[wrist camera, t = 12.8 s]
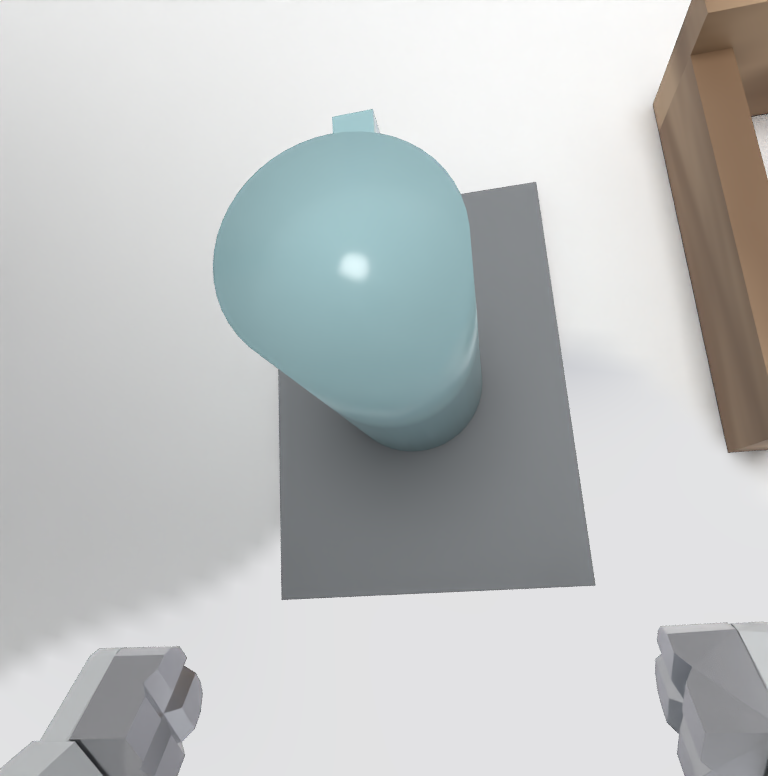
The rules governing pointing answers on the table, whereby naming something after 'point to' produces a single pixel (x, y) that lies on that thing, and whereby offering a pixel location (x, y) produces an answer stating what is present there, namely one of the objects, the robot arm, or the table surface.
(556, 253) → the table surface
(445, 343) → the pale blue domed cylinder
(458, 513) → the mat
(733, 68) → the holder
